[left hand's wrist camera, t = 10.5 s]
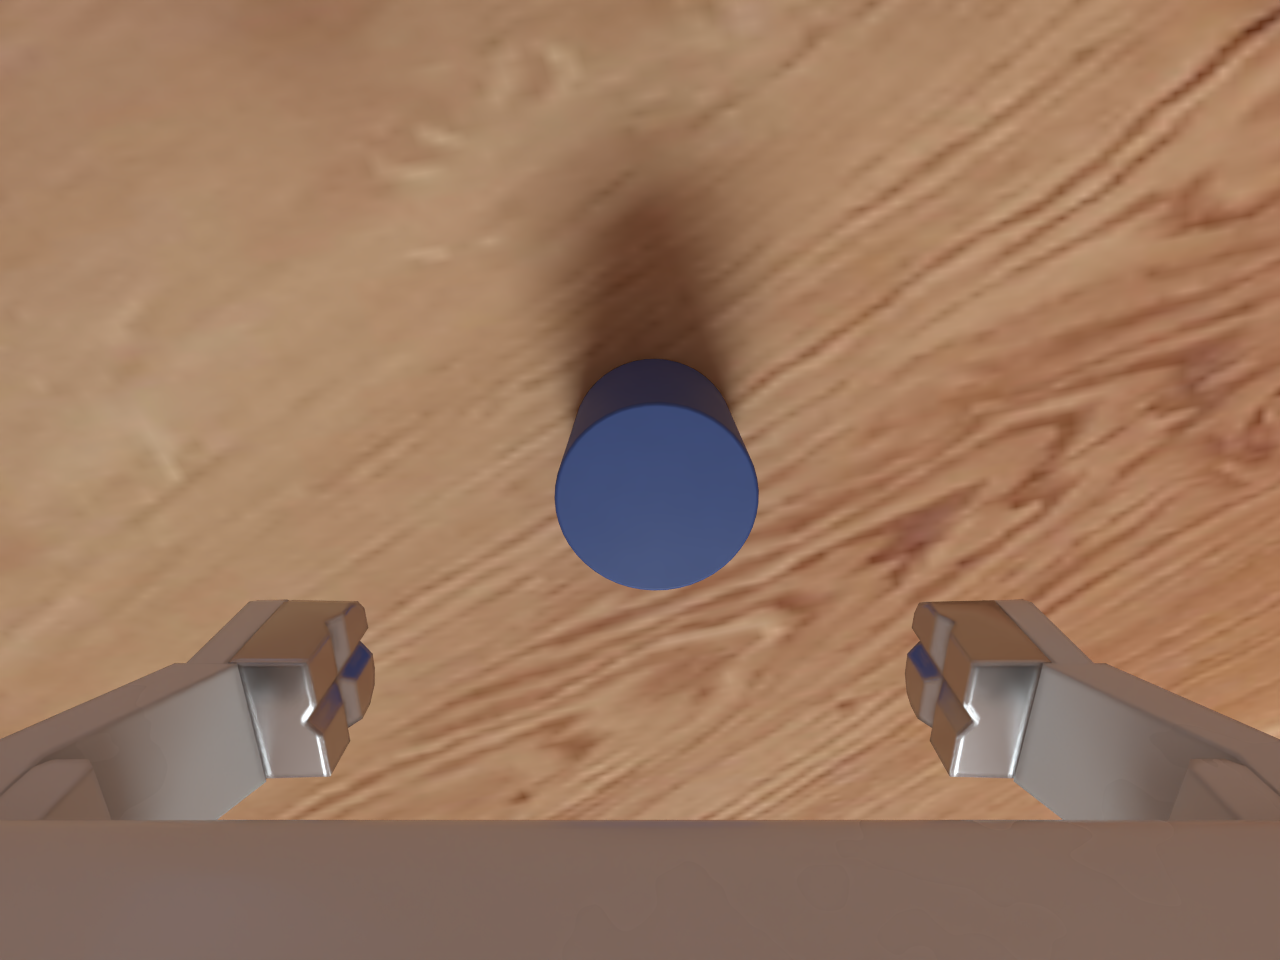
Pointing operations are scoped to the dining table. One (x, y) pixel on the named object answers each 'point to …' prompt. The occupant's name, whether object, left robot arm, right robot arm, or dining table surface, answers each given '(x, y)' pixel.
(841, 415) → the dining table surface
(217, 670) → the left robot arm
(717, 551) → the canister
